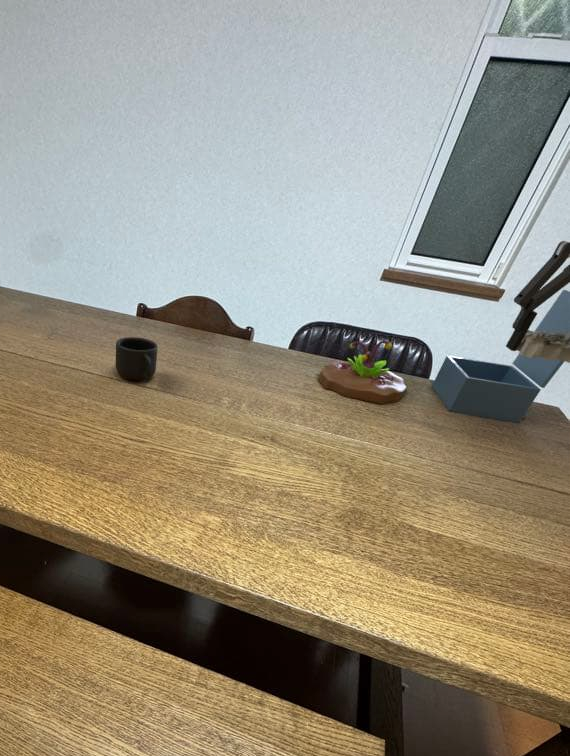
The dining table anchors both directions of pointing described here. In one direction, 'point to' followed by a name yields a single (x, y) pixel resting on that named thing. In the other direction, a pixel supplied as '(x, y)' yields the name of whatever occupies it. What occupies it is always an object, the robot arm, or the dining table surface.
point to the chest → (484, 389)
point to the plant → (364, 378)
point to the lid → (560, 318)
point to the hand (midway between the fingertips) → (542, 353)
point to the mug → (136, 358)
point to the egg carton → (546, 345)
